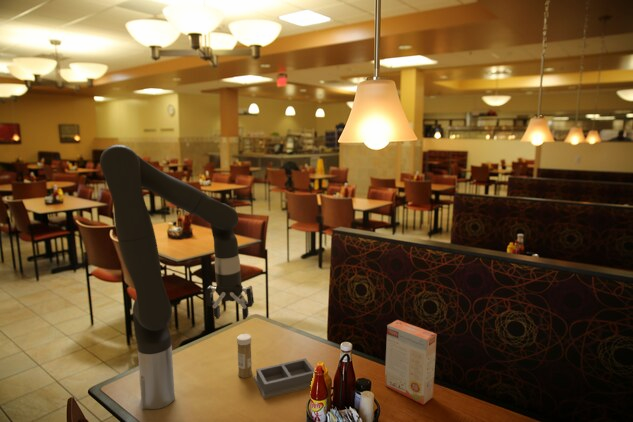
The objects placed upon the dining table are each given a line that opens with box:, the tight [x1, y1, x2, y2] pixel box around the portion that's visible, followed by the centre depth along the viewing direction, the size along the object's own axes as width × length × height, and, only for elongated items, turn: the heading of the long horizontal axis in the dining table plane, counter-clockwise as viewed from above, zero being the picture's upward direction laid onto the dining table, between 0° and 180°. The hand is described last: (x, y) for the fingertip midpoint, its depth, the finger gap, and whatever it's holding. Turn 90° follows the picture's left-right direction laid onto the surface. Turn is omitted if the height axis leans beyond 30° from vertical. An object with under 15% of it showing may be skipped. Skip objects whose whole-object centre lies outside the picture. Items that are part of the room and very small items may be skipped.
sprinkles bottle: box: [236, 333, 253, 379], centre depth 137 cm, size 5×5×14 cm
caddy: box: [253, 358, 315, 400], centre depth 134 cm, size 18×11×4 cm, turn 114°
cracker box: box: [384, 319, 438, 406], centre depth 128 cm, size 14×6×21 cm, turn 45°
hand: (231, 318), depth 131 cm, fingers open, 8 cm apart
